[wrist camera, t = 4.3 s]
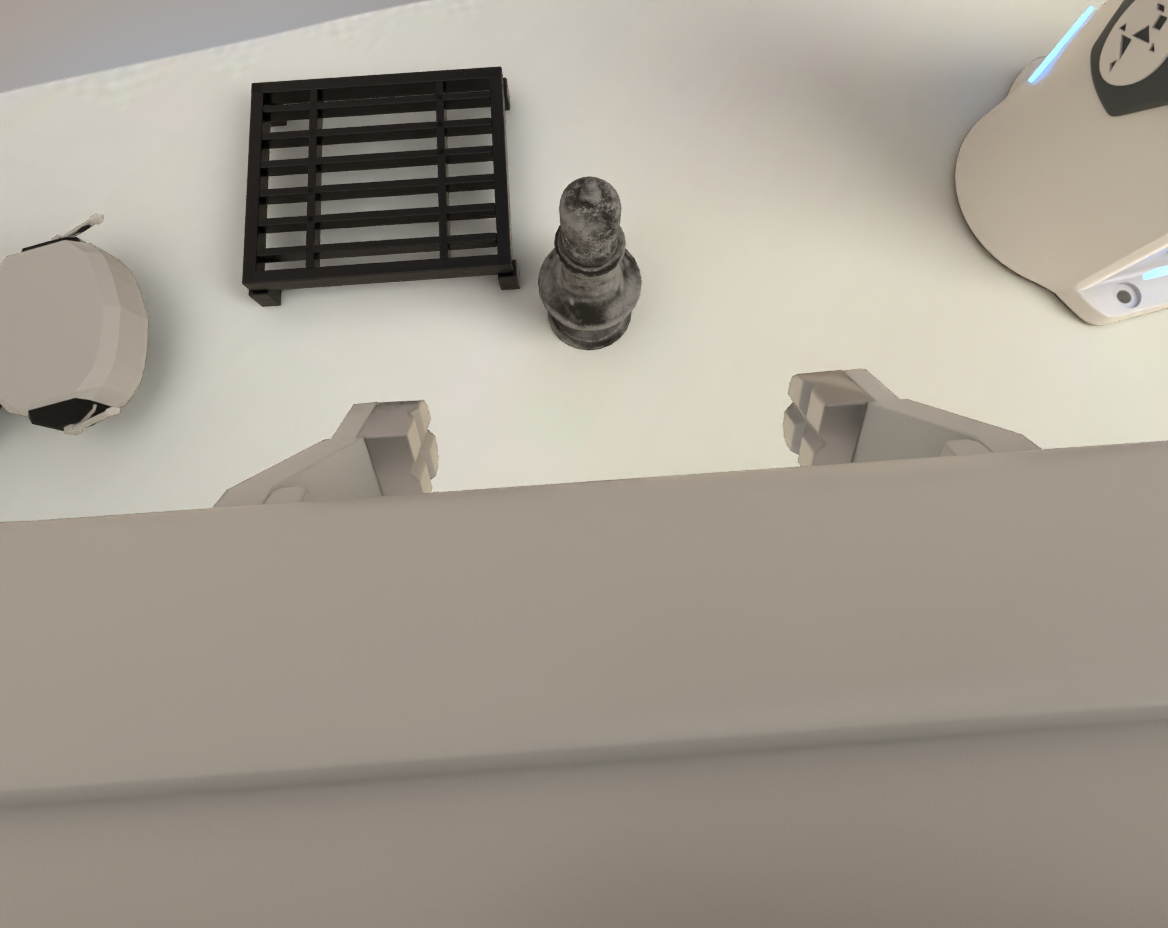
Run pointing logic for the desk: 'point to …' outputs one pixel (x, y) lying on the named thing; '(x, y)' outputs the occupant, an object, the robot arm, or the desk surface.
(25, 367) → the robot toy
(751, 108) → the desk surface
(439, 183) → the grate
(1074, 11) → the desk surface
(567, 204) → the grey stone turned piece
